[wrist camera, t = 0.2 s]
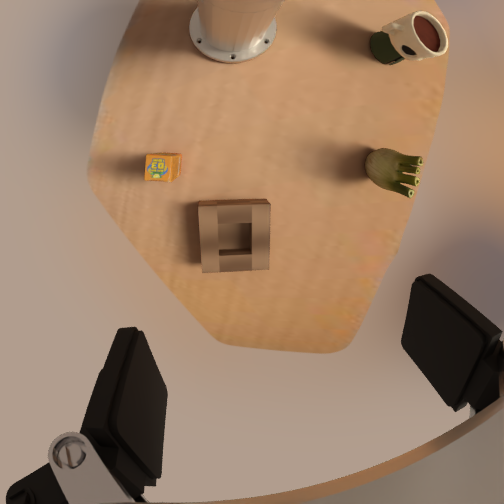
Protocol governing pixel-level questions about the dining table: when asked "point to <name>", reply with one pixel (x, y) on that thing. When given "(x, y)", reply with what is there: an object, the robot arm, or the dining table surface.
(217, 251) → the square wooden frame
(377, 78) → the dining table surface
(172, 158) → the supplement box
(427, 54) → the character mug
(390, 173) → the fennel bulb
